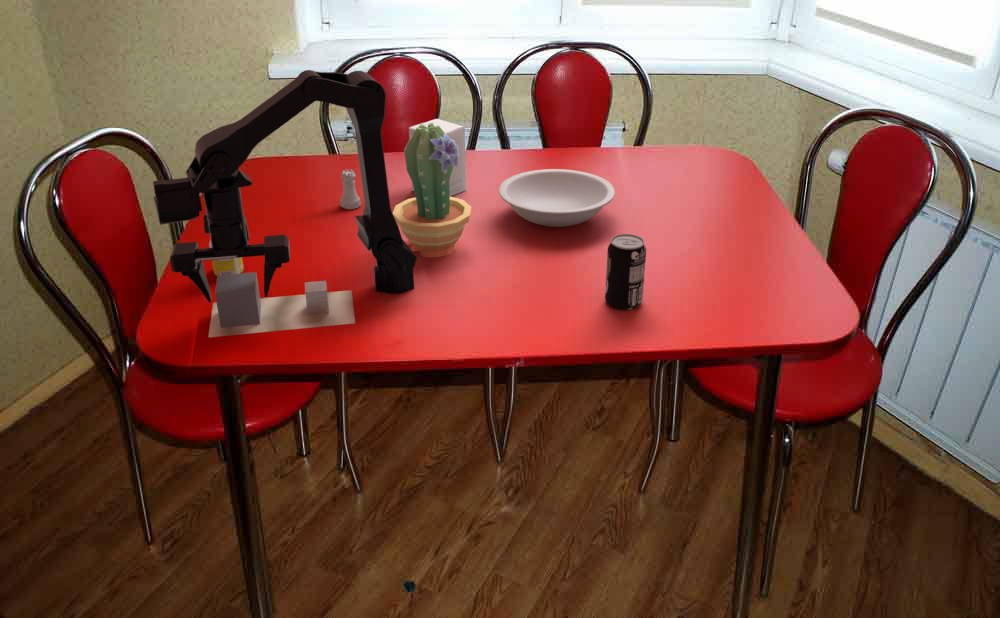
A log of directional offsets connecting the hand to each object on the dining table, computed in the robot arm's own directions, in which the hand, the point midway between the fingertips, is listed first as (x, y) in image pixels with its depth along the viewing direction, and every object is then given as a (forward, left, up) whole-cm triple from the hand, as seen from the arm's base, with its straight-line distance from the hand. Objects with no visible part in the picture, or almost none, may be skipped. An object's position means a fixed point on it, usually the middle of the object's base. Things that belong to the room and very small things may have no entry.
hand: (238, 298), depth 162 cm
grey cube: (-13, 0, -4) cm, 14 cm away
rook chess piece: (-21, -47, -5) cm, 52 cm away
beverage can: (-66, +6, -5) cm, 66 cm away
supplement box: (-41, -52, -5) cm, 66 cm away
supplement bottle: (+3, -18, -5) cm, 19 cm away
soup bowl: (-63, -32, -5) cm, 71 cm away
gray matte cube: (0, 0, -4) cm, 4 cm away
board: (-7, 0, -4) cm, 8 cm away
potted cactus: (-36, -23, -5) cm, 43 cm away
